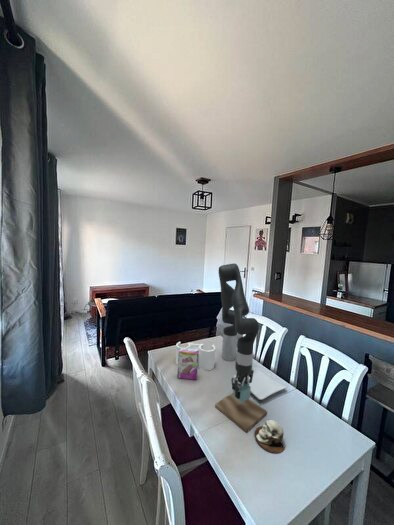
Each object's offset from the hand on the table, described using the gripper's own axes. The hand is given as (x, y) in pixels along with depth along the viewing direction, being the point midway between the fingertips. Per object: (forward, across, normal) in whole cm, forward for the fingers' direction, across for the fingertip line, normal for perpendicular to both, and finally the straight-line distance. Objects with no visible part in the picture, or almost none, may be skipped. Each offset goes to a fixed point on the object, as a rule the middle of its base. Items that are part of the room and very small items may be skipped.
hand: (241, 394), depth 103 cm
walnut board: (+8, 0, 0) cm, 8 cm away
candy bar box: (+8, +4, -35) cm, 36 cm away
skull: (+8, +3, +17) cm, 19 cm away
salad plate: (+9, -23, -5) cm, 25 cm away
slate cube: (+1, 0, 0) cm, 1 cm away
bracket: (+8, -8, -43) cm, 44 cm away
